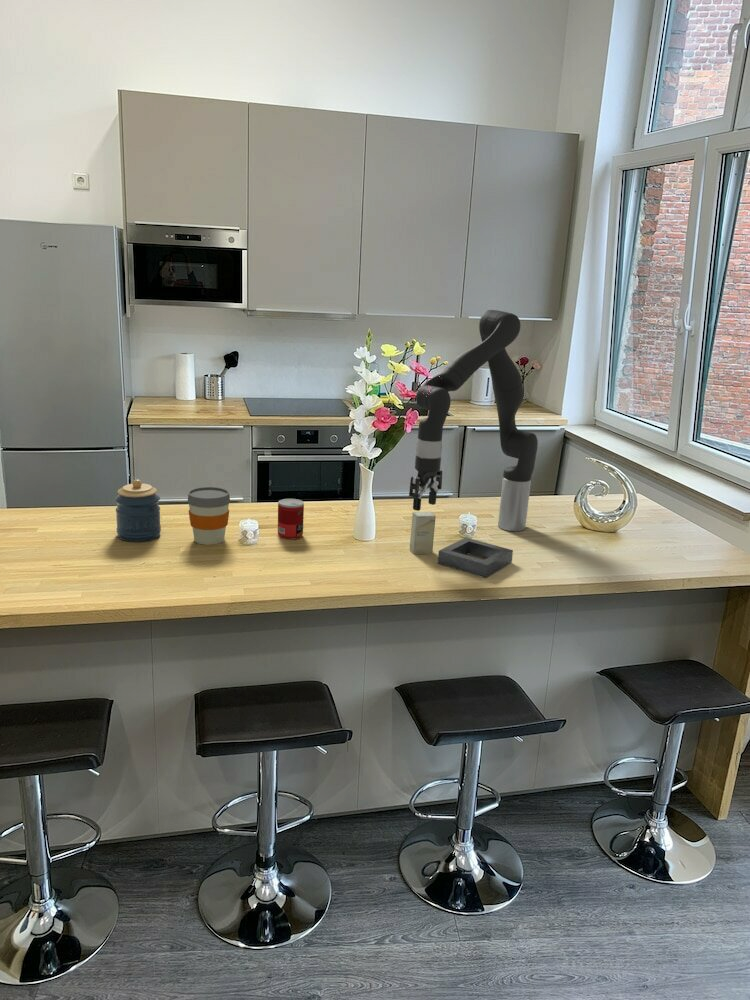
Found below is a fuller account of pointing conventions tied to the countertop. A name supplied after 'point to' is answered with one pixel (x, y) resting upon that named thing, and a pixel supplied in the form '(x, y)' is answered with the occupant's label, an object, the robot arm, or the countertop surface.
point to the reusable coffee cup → (208, 514)
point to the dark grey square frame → (483, 568)
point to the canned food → (290, 518)
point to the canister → (138, 512)
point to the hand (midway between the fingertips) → (424, 507)
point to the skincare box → (422, 532)
